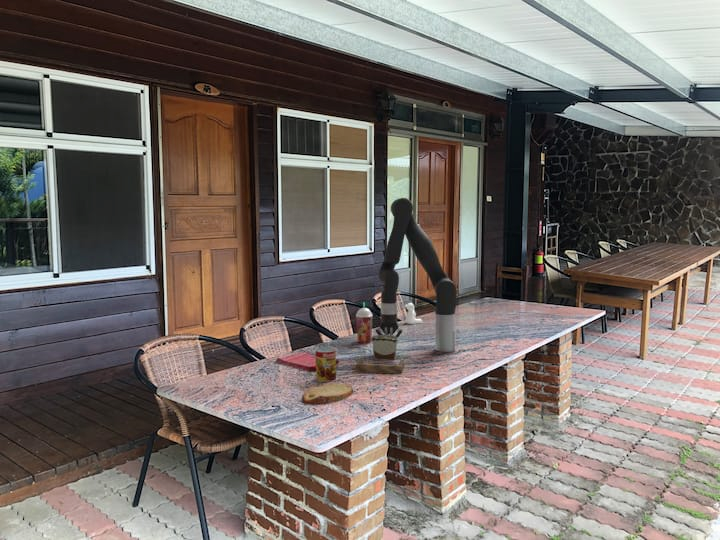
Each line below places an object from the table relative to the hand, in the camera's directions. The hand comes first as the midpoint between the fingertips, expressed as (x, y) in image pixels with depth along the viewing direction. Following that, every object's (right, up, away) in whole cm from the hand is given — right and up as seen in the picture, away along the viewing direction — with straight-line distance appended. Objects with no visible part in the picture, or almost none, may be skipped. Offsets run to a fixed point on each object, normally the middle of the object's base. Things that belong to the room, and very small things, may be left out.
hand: (389, 349), depth 276 cm
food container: (-2, -3, -9) cm, 10 cm away
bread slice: (-25, -10, -59) cm, 65 cm away
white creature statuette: (+16, +6, +64) cm, 66 cm away
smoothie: (-11, +1, +21) cm, 24 cm away
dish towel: (-36, -5, -15) cm, 40 cm away
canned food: (-27, -7, -39) cm, 48 cm away
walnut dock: (-5, -5, -26) cm, 27 cm away
